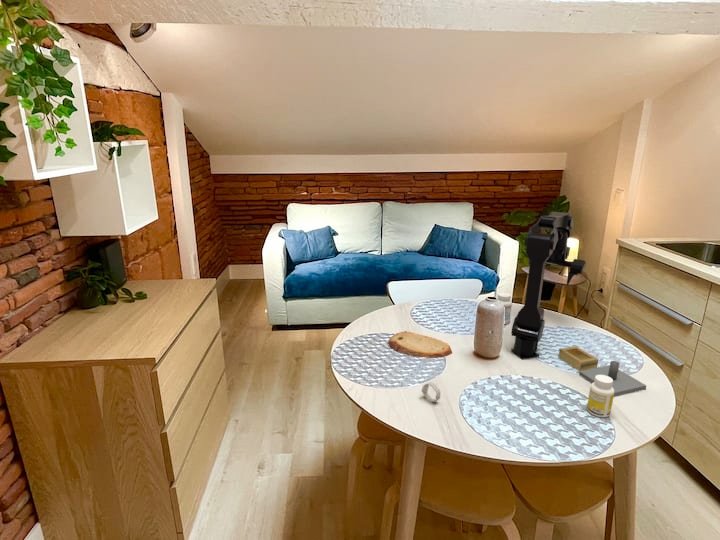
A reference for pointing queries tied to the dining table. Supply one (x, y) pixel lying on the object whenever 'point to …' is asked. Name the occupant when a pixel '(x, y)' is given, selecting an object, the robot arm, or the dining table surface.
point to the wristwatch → (425, 388)
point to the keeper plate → (617, 384)
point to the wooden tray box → (578, 358)
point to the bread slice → (419, 345)
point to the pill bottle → (506, 305)
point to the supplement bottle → (601, 396)
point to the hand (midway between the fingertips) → (554, 282)
